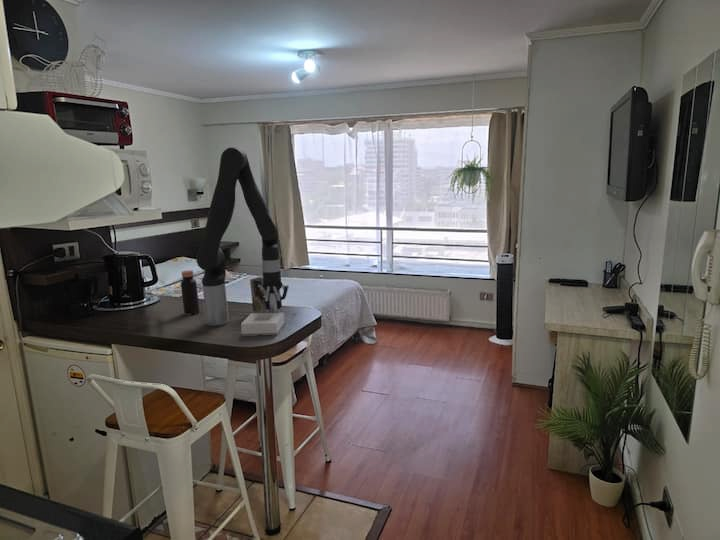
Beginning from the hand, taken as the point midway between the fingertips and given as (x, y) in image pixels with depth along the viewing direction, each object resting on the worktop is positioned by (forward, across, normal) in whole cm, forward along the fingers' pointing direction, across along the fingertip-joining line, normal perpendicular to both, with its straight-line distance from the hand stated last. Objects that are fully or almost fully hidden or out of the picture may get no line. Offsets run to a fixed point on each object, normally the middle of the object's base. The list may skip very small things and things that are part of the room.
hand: (273, 308), depth 199 cm
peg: (+3, 0, 0) cm, 3 cm away
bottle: (+6, -42, +15) cm, 45 cm away
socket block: (+5, -2, -12) cm, 13 cm away
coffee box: (+6, -7, +12) cm, 15 cm away
